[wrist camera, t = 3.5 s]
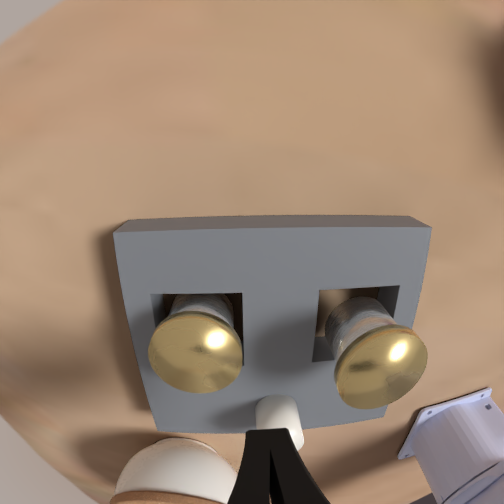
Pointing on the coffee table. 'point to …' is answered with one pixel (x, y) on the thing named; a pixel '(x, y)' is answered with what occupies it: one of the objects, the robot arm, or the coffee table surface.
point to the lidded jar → (175, 475)
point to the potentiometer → (280, 416)
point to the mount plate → (266, 303)
